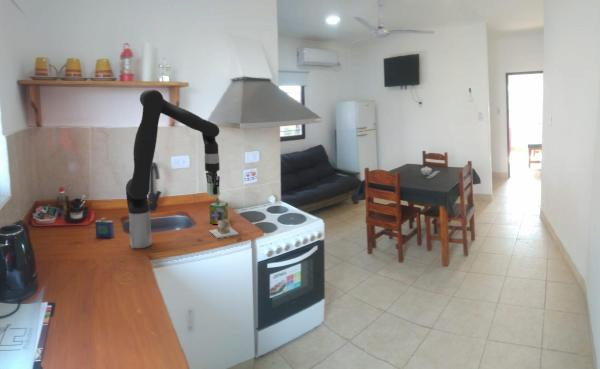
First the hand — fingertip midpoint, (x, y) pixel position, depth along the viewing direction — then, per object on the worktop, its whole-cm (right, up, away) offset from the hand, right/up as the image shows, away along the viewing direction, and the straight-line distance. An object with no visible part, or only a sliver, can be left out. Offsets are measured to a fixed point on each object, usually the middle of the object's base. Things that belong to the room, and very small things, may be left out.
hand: (213, 193), depth 195 cm
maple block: (+5, -21, +3) cm, 22 cm away
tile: (+5, -22, +3) cm, 23 cm away
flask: (-54, -23, -7) cm, 59 cm away
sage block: (0, -1, 0) cm, 1 cm away
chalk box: (-2, -18, +22) cm, 29 cm away
